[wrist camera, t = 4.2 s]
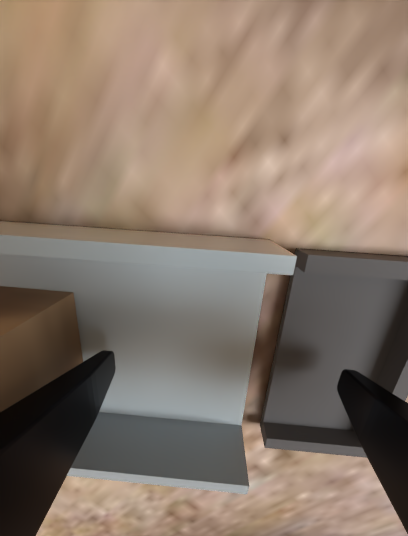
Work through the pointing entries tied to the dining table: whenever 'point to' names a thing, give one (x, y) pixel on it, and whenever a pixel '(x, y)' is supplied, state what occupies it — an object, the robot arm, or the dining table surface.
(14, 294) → the block
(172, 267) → the grey bracket
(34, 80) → the dining table surface
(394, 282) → the dark gray shallow tray
